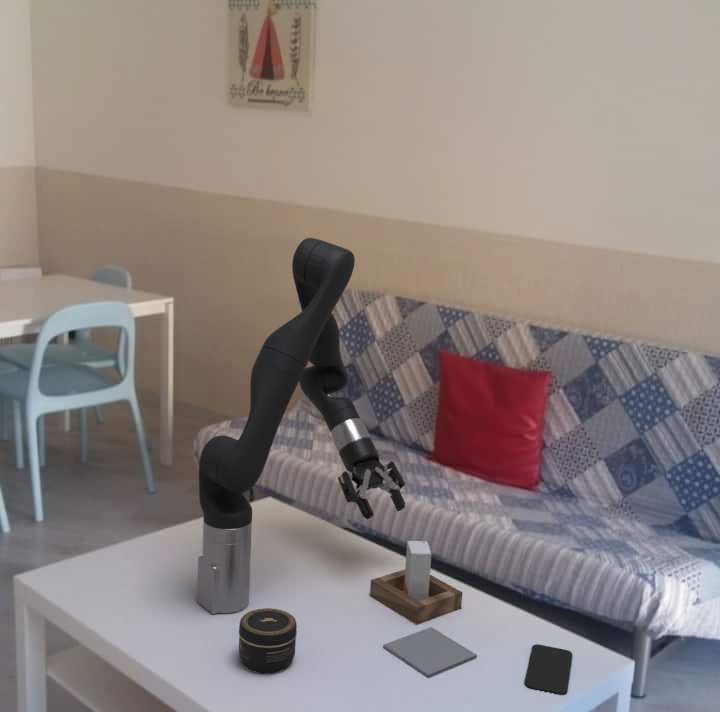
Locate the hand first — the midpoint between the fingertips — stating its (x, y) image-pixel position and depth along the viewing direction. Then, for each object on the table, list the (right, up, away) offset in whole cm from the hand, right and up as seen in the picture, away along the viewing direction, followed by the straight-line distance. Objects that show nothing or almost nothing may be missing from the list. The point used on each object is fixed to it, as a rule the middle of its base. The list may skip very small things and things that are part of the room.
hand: (386, 513), depth 198 cm
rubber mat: (+7, -21, -23) cm, 32 cm away
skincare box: (+6, -17, -4) cm, 19 cm away
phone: (+28, -24, -26) cm, 45 cm away
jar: (-22, -21, -29) cm, 42 cm away
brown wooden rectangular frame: (+6, -17, -4) cm, 19 cm away
